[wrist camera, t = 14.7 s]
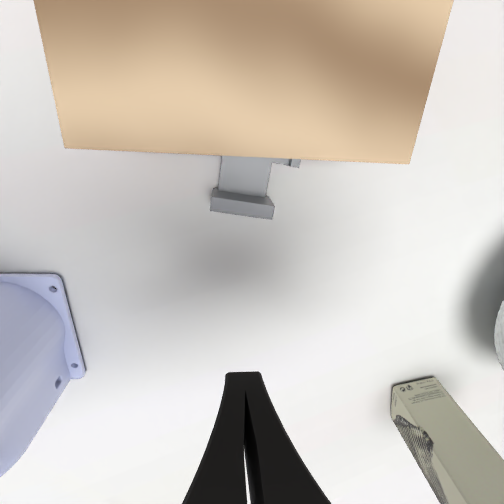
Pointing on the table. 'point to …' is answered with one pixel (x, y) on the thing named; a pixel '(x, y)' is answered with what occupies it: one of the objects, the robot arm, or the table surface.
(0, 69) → the table surface
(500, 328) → the cereal bowl
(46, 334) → the robot arm
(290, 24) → the small wooden stool
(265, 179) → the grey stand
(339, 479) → the table surface
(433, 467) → the box
